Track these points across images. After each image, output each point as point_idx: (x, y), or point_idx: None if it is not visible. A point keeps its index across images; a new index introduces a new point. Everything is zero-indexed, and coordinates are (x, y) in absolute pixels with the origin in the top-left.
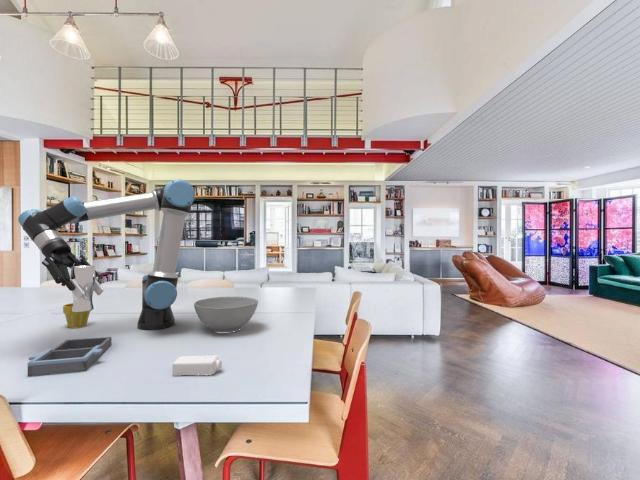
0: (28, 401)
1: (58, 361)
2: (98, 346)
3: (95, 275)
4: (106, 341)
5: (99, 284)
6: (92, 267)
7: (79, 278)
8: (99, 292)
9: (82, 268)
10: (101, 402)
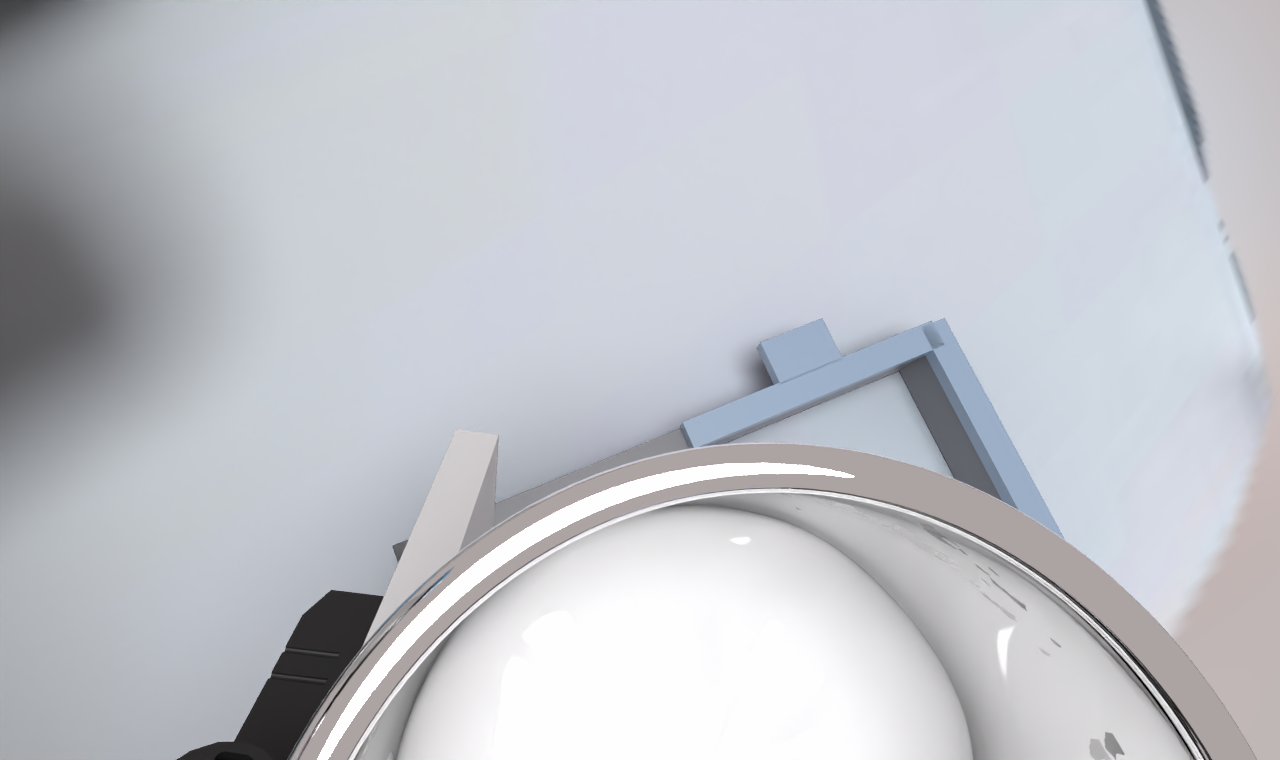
0: (1254, 332)
1: (1016, 459)
2: (718, 410)
3: (238, 754)
4: (531, 489)
5: (419, 532)
6: (731, 450)
7: (978, 664)
8: (493, 507)
9: (1126, 626)
10: (1163, 39)
